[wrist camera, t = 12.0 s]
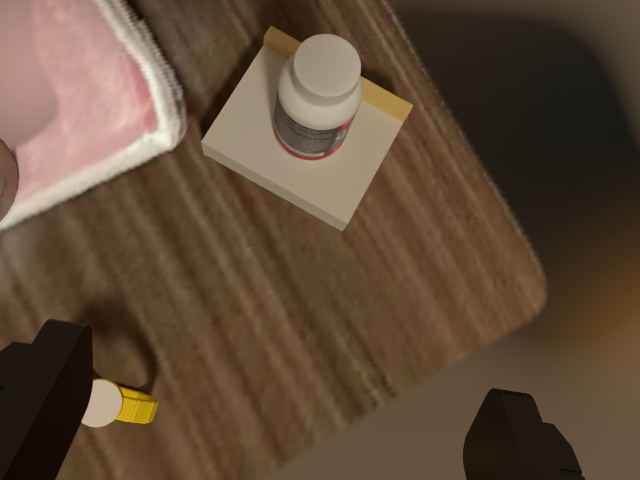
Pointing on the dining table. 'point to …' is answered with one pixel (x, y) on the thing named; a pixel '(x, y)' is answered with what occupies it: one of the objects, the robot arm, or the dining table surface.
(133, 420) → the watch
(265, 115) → the dock
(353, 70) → the pill bottle
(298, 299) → the dining table surface
